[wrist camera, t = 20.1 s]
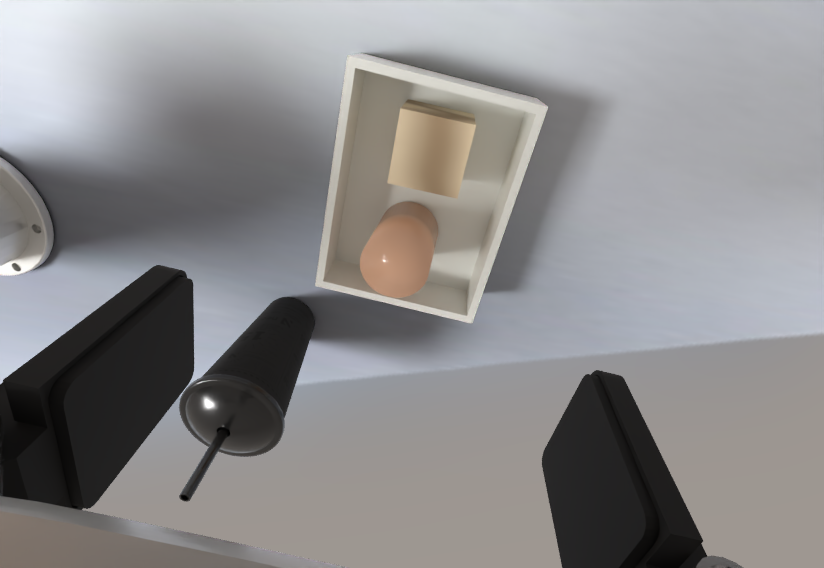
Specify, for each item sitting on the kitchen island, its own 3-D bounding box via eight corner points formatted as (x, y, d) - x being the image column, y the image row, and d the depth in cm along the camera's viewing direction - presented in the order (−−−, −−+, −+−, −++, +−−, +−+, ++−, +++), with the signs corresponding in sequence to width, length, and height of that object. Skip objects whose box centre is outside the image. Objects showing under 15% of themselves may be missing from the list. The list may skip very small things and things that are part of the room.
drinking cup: (343, 336, 45) (271, 524, 28) (279, 358, 47) (175, 546, 30) (304, 273, 42) (195, 439, 25) (238, 299, 44) (94, 470, 27)
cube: (395, 165, 36) (387, 183, 32) (407, 99, 34) (400, 108, 29) (457, 179, 36) (457, 198, 32) (473, 113, 34) (476, 125, 29)
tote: (330, 259, 41) (315, 285, 37) (361, 52, 33) (347, 55, 29) (470, 293, 42) (472, 323, 37) (536, 98, 34) (548, 107, 29)
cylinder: (372, 208, 38) (350, 242, 32) (429, 195, 37) (418, 227, 31) (389, 261, 40) (372, 302, 34) (444, 250, 39) (436, 291, 33)
